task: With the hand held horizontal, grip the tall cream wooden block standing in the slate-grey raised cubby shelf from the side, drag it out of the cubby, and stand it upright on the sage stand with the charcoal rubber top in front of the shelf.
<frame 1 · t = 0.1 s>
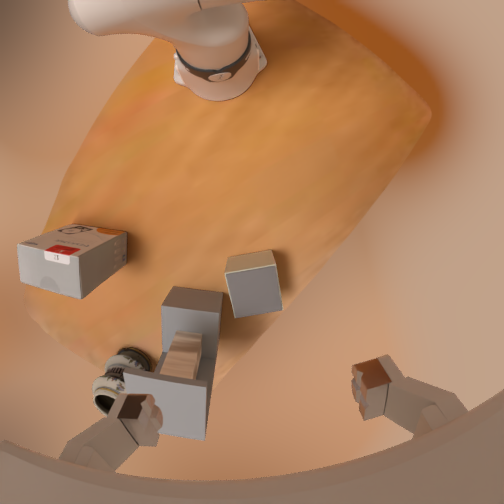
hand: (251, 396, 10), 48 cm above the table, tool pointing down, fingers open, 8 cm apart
stand: (253, 273, 59), on the table
shelf: (196, 313, 62), on the table
apothecary jar: (134, 361, 66), on the table
block: (189, 342, 53), point 9 cm above the table, touching shelf
hard drive box: (98, 242, 57), on the table
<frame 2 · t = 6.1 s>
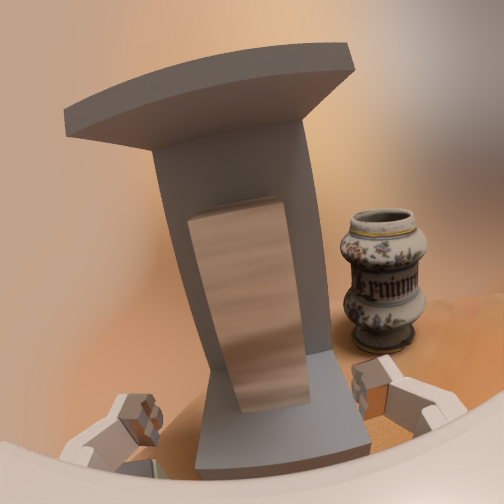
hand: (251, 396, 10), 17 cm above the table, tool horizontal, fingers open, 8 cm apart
shelf: (288, 459, 22), on the table
apothecary jar: (383, 335, 38), on the table
block: (273, 386, 20), point 9 cm above the table, touching shelf
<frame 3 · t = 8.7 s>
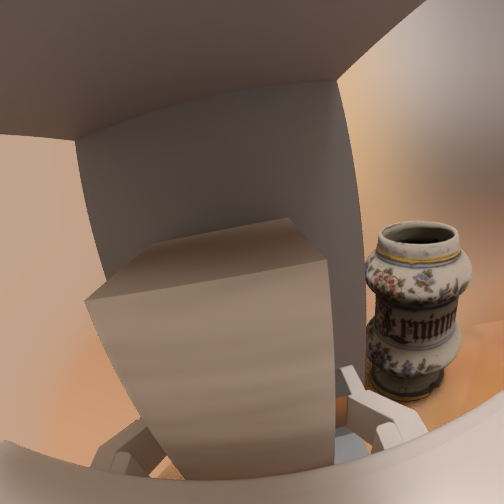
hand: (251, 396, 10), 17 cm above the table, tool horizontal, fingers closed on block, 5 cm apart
apothecary jar: (407, 374, 29), on the table
block: (277, 491, 11), point 10 cm above the table, touching gripper, shelf
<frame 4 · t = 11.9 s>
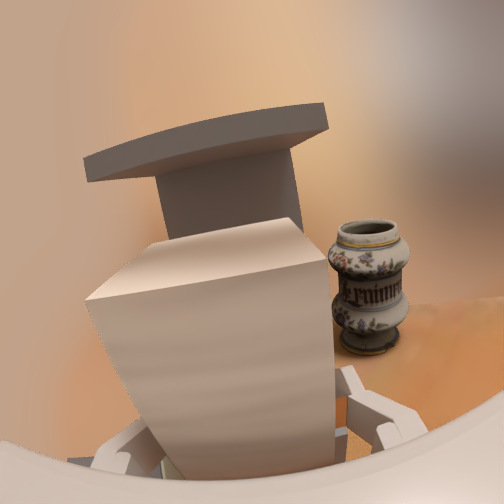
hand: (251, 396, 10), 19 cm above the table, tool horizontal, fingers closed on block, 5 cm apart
shelf: (279, 451, 25), on the table
apothecary jar: (369, 337, 41), on the table
block: (277, 491, 11), point 11 cm above the table, touching gripper
when the fingers open (19 cm above the table, at t = 14.9 s): block drops 2 cm, resting on stand.
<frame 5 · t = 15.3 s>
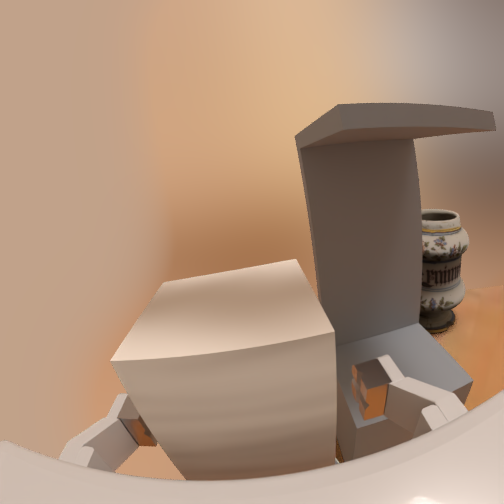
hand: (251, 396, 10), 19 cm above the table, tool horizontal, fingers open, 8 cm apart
shelf: (383, 423, 25), on the table
apothecary jar: (429, 318, 41), on the table
block: (281, 500, 12), point 10 cm above the table, touching stand
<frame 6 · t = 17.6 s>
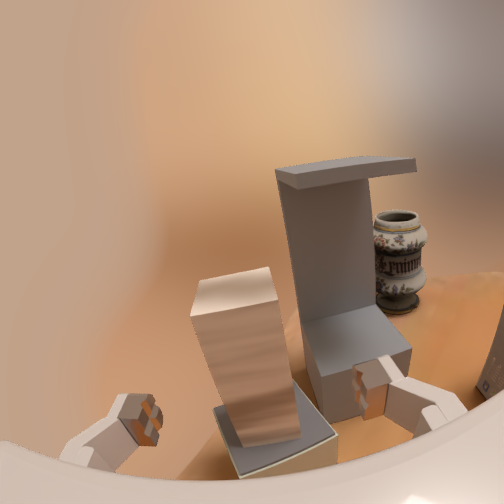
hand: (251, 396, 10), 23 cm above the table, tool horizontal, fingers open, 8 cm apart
stand: (282, 466, 25), on the table
shelf: (351, 384, 36), on the table
apothecary jar: (396, 302, 52), on the table
block: (269, 422, 22), point 10 cm above the table, touching stand
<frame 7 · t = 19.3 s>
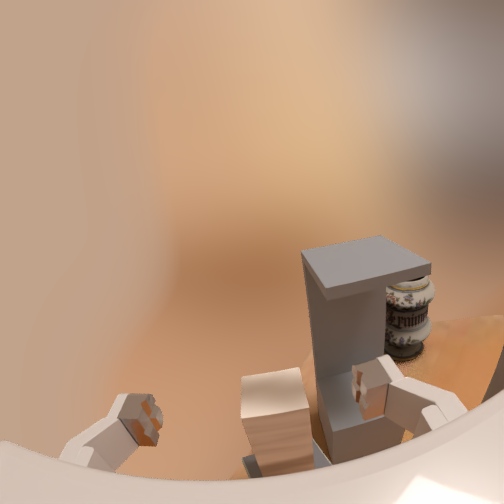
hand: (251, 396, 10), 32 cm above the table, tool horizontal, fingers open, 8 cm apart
stand: (296, 499, 27), on the table
shelf: (357, 428, 37), on the table
apothecary jar: (402, 348, 53), on the table
block: (290, 470, 24), point 10 cm above the table, touching stand
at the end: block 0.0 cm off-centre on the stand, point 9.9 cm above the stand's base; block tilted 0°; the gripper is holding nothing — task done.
